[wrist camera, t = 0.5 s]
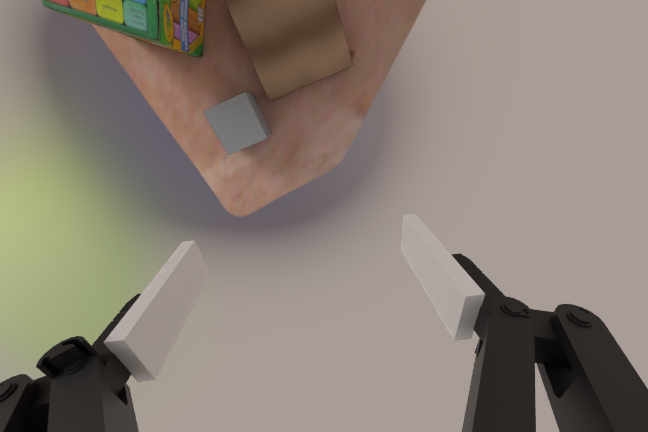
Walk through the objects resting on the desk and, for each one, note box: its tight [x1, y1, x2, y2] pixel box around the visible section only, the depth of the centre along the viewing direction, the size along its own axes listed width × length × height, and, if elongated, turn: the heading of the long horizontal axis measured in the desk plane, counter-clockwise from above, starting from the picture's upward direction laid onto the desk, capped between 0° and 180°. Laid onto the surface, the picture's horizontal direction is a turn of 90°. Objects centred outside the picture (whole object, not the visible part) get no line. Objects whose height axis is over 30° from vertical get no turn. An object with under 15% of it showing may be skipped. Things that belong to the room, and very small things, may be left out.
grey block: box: [203, 92, 272, 155], centre depth 34 cm, size 6×6×5 cm
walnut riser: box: [224, 0, 353, 102], centre depth 30 cm, size 12×12×2 cm
